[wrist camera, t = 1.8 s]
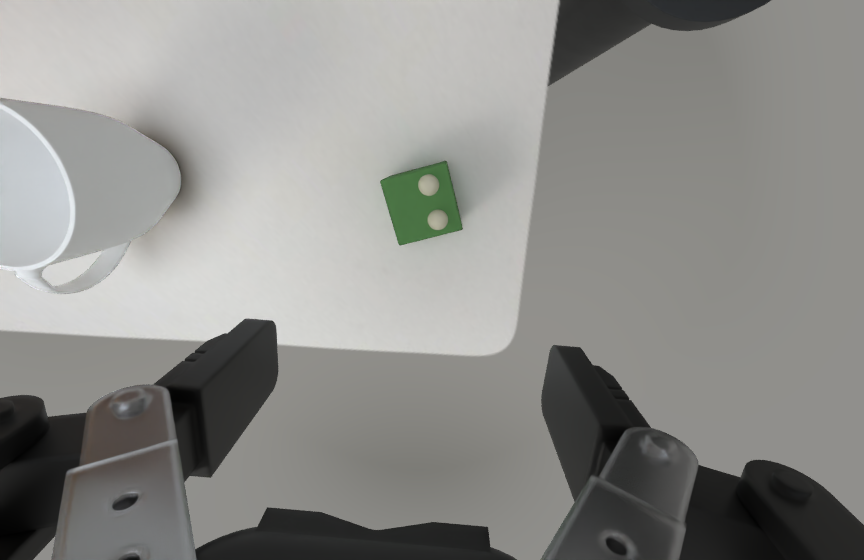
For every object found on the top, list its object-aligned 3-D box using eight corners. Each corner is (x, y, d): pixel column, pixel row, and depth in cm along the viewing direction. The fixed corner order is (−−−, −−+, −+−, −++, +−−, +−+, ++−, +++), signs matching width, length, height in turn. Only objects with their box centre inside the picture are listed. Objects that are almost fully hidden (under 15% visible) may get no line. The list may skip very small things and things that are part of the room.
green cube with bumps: (446, 160, 31) (446, 162, 26) (460, 219, 32) (463, 231, 27) (388, 176, 31) (378, 181, 26) (405, 233, 33) (397, 248, 28)
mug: (94, 99, 30) (-119, 70, 19) (212, 130, 31) (72, 120, 19) (95, 247, 34) (-83, 297, 22) (201, 273, 34) (78, 336, 23)
